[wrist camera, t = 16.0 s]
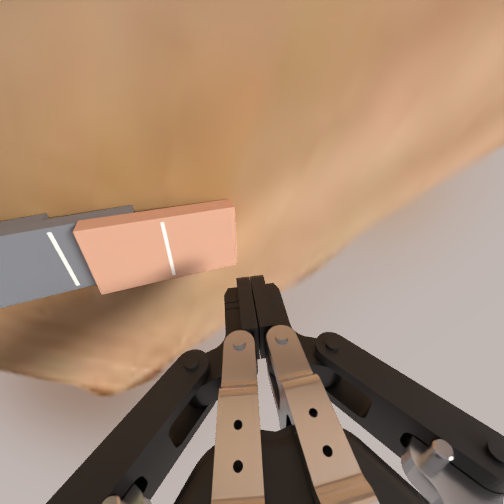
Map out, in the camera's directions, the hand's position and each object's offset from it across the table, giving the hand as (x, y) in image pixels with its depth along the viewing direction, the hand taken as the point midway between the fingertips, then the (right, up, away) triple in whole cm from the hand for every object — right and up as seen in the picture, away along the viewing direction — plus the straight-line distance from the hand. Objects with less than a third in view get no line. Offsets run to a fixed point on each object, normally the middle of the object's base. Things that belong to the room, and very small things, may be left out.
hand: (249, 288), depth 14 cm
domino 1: (-8, +3, +5) cm, 10 cm away
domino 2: (-1, +4, +6) cm, 7 cm away
